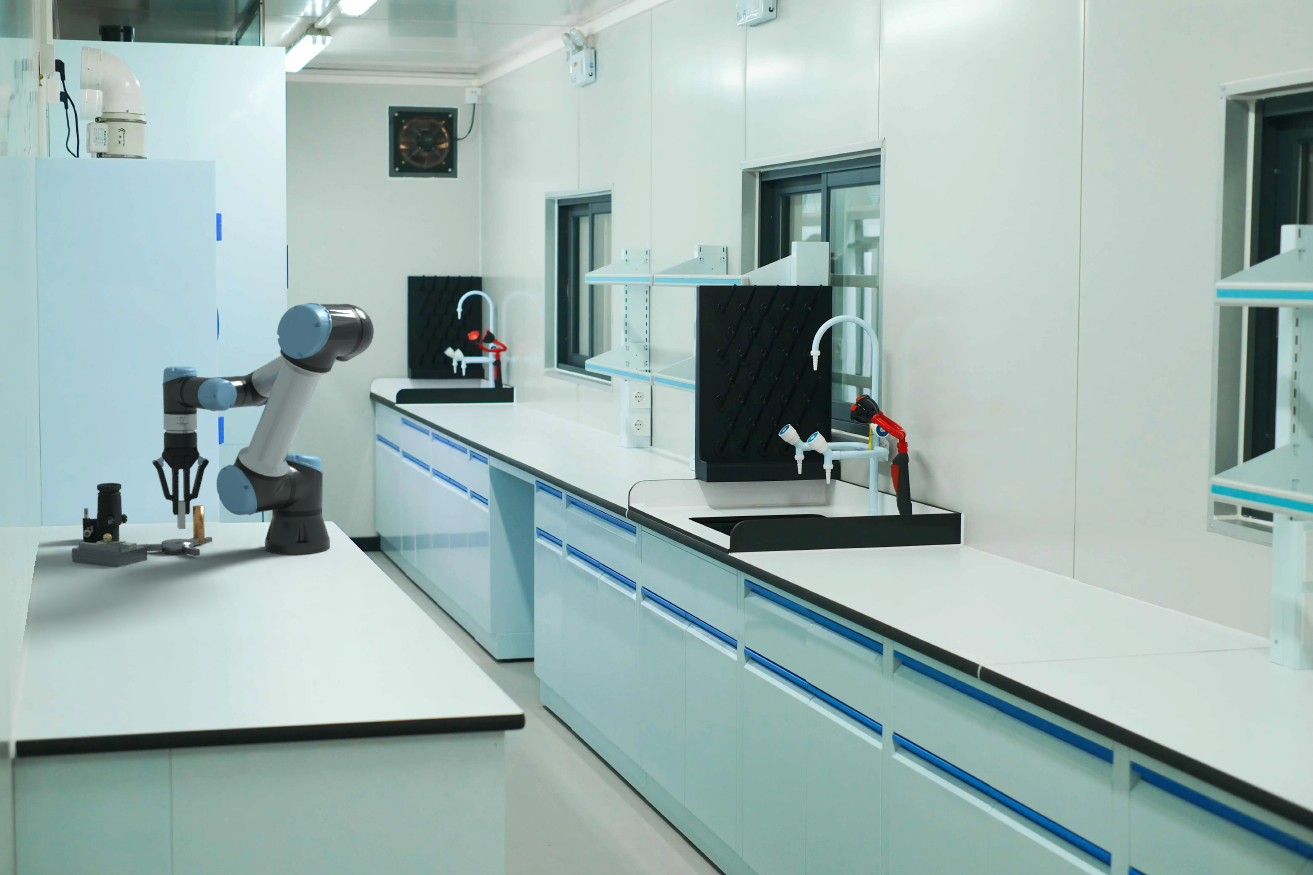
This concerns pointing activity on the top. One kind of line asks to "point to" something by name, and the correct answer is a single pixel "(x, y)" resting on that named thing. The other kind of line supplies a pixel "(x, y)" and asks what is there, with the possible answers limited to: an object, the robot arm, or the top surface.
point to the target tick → (208, 539)
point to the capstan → (184, 544)
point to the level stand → (109, 552)
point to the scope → (105, 514)
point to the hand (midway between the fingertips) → (181, 527)
